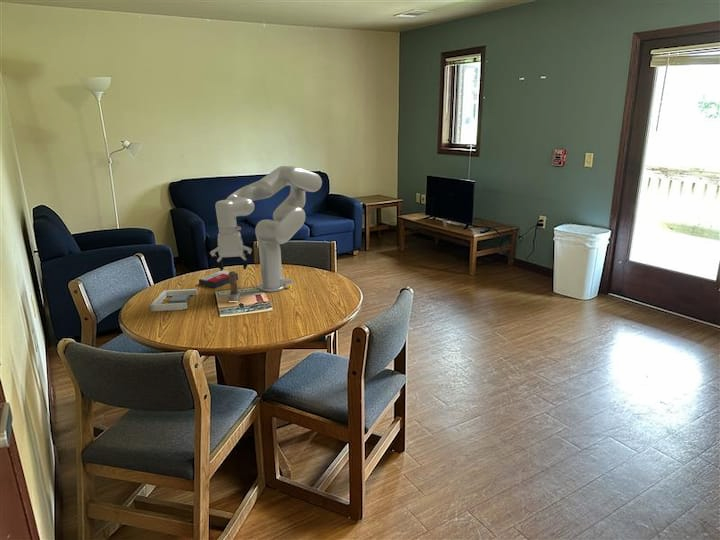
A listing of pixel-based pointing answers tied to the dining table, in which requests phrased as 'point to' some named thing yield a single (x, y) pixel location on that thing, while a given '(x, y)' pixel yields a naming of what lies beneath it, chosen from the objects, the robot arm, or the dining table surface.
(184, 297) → the tile
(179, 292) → the bay
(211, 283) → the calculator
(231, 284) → the scraper
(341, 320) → the dining table surface
